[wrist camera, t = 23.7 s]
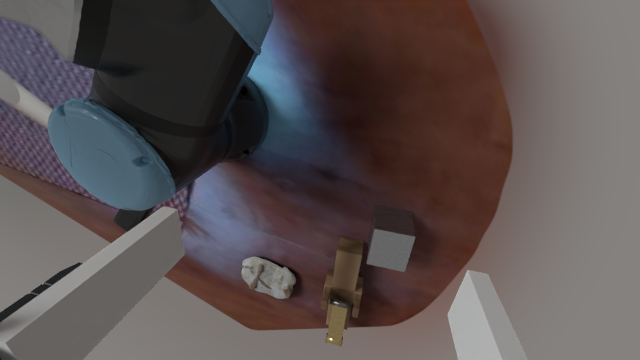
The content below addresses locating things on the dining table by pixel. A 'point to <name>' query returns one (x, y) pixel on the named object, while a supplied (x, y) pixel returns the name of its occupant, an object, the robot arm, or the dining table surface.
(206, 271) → the dining table surface
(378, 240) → the brushed steel cube
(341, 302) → the lever
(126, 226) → the remote control
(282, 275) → the stone
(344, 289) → the tan wooden beam joint
